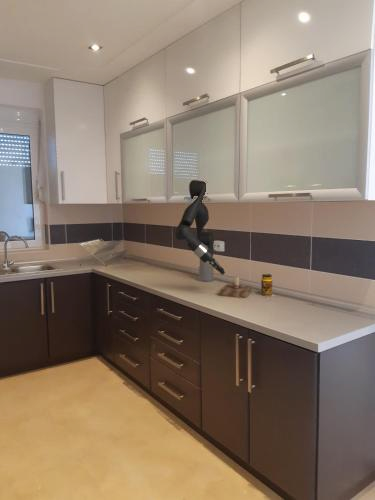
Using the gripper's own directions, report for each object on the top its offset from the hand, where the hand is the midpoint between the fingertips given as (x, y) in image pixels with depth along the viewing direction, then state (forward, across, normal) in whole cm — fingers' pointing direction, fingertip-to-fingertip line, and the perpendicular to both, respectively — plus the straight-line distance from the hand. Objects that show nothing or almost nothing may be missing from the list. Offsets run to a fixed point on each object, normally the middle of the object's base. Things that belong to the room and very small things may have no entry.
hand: (223, 272), depth 224 cm
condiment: (+26, -2, -8) cm, 28 cm away
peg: (+14, 0, +4) cm, 15 cm away
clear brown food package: (+14, 0, +4) cm, 15 cm away
